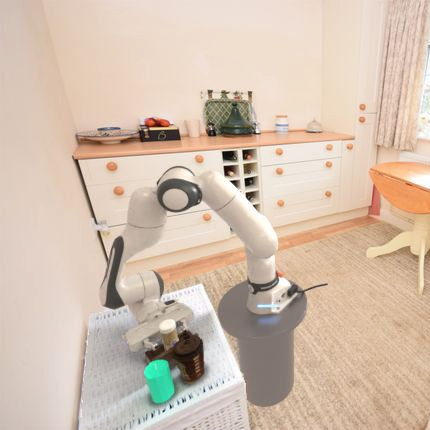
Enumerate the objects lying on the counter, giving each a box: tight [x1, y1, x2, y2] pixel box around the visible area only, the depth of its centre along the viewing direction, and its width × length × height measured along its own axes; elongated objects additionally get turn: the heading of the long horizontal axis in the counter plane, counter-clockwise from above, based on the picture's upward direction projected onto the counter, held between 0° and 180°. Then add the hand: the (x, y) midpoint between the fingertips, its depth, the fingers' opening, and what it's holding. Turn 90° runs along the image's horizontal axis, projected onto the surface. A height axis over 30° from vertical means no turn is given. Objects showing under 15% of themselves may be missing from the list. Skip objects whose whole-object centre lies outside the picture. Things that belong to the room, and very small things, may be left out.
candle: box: [143, 360, 176, 404], centre depth 82 cm, size 6×6×12 cm
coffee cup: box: [172, 334, 206, 385], centre depth 88 cm, size 9×8×13 cm
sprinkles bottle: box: [159, 319, 179, 351], centre depth 94 cm, size 5×5×14 cm
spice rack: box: [143, 329, 200, 371], centre depth 95 cm, size 14×9×7 cm, turn 139°
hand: (171, 339), depth 93 cm, fingers open, 8 cm apart
